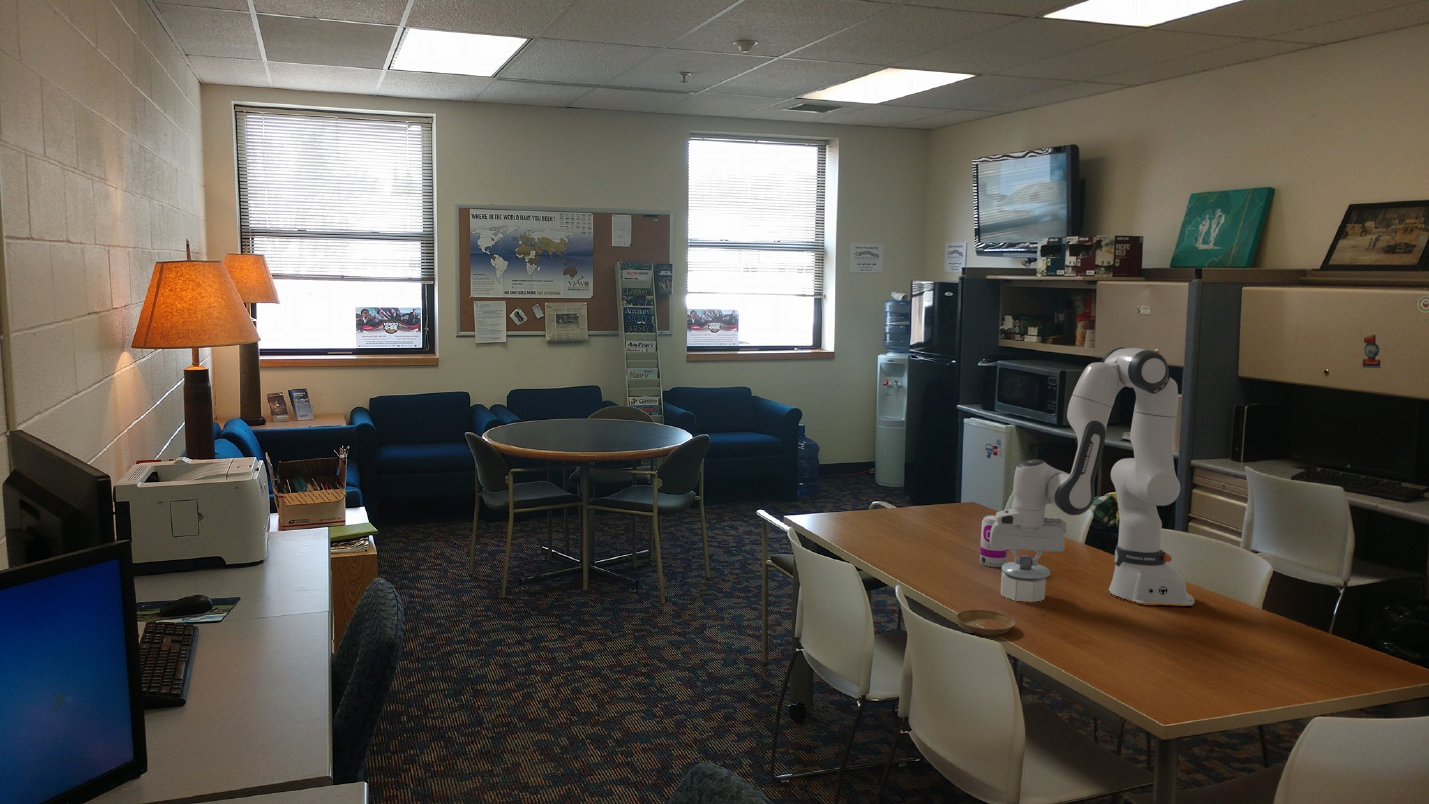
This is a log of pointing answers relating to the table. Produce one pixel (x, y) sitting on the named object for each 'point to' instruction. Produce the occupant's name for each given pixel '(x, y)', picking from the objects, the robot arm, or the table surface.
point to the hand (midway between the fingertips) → (1025, 564)
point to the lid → (1025, 569)
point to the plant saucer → (970, 616)
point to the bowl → (1022, 588)
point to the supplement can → (987, 552)
